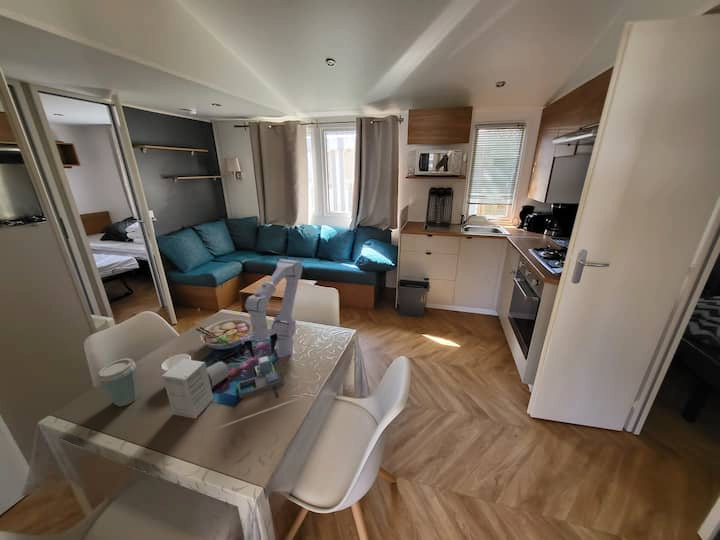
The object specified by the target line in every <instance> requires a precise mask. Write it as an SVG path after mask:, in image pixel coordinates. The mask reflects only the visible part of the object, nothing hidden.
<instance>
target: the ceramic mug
mask: <svg viewBox="0 0 720 540" xmlns="http://www.w3.org/2000/svg"><path fill="white" fill-rule="evenodd" d="M229 368H230V367H229V366H228V365H227V364H226V362H224V361H222V360H221V361H217V362H216V363H213V364H212V365H210V366H208V367H206V369H207V373H208V377H209V382H210V386H211V389H212V388H214V387H215V386H217V385H218V384H219V383H221V382H222V381H224V380H225V379H227V377H228V376H229V375H230V369H229Z"/></svg>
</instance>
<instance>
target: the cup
mask: <svg viewBox="0 0 720 540" xmlns="http://www.w3.org/2000/svg"><path fill="white" fill-rule="evenodd" d="M183 359H187V360H192V357H191V356H190V355H189V354H186V353H181V354H176V355H173V356H171V357H169V358H167V359H165V360H164V361H163V362H162V364H161V365H160V367H161V371H162V372H163V374H165V373H166V372H167V371H168V370H170V369H171V368H172V367H174V366H175V365H176V364H177V363H179V362H180V361H181V360H183Z"/></svg>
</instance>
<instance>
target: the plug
mask: <svg viewBox="0 0 720 540" xmlns="http://www.w3.org/2000/svg"><path fill="white" fill-rule="evenodd" d="M257 360H258V366H259V370H260V374H261V375H263V374H266V373H269V372H271V368H270V362H271V361H270V358H269V356H268V355H266V356H261V357H258V358H257Z"/></svg>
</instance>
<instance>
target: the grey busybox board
mask: <svg viewBox="0 0 720 540" xmlns="http://www.w3.org/2000/svg"><path fill="white" fill-rule="evenodd" d="M252 384H255V387H256V388H253V389H249V390H246V391H243V392H242V391H241V388H242V387H244V386H245V387H246V386H248V385H252ZM283 385H284V380H283V377H282V374H281V372H280V370H279V369H278V370H275V371H274V372H271V373H267V374H264V375H261V376H258V377H257V376H254V377H252V378H249V379H246V380H242V381H238V382H237V390H238V396H239V400H242V399H244V398H247V397H250V396H254V395H257V394H259V393H262V392H266V391H269V390H271V389H273V392H274V396H275V398H276V399H277V398H279V394H278V389H277V388H278V387H280V386H283Z"/></svg>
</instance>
